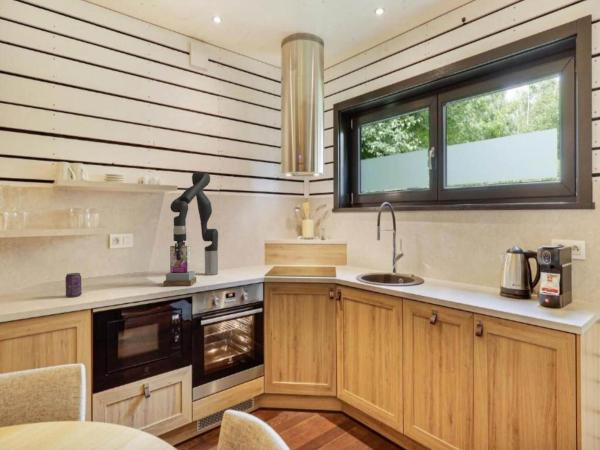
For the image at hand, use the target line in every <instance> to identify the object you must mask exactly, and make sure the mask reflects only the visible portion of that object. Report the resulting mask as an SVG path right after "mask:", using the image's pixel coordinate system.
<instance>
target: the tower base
mask: <svg viewBox="0 0 600 450" xmlns="http://www.w3.org/2000/svg"><path fill="white" fill-rule="evenodd" d="M196 283H197V276H195V277H194V278H193V279H191V280H175V281H166V279H165V280H163V287H164V288H166V287H167V288H168V287H176V288H177V287H192V286H193V285H194V284H196Z"/></svg>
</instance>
